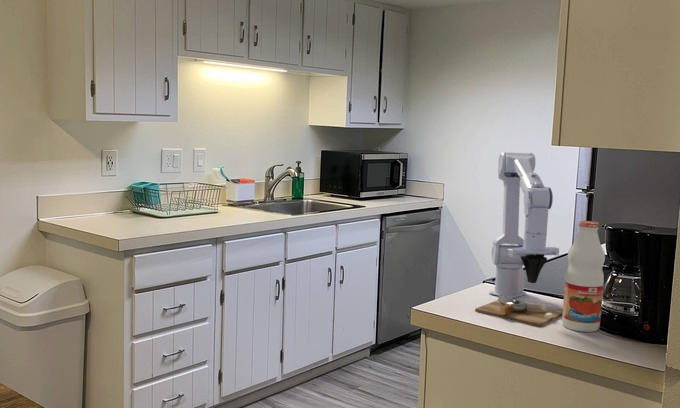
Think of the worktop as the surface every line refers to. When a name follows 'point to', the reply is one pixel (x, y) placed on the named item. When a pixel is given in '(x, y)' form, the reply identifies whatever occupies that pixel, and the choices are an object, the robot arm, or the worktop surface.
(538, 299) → the worktop surface
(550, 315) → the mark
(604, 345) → the worktop surface
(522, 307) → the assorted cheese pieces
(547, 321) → the board
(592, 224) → the fruit juice
